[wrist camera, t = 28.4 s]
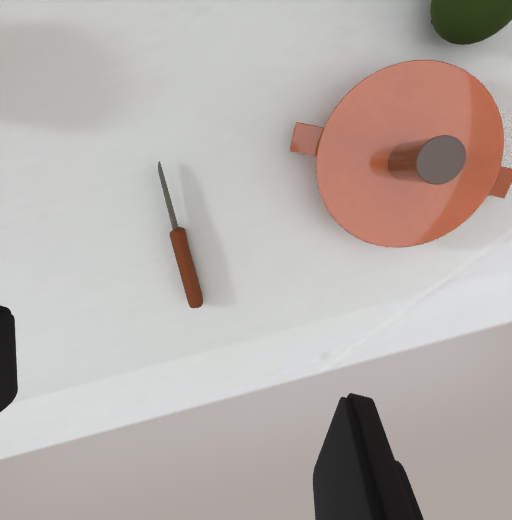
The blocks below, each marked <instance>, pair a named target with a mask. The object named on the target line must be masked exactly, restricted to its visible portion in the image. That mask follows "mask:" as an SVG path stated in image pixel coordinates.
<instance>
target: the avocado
mask: <svg viewBox="0 0 512 520" xmlns="http://www.w3.org/2000/svg"><path fill="white" fill-rule="evenodd" d="M431 17H432V20H431V23H433V25H434V27H435V30H436V31H437V33H438V34H439V35H440V36H441V37H442V38H443V39H445V40H447V41H448V42H451V43H454V44H461V45H464V44H472V43H475V42H479V41H482V40H484V39H486V38H488V37H490V36H492V35H493V34H495V33H497V32H498V31H499V30H500V29H502V28H503V27H504V26H506V25H507V24H508V23H509V22H510V21H511V20H512V0H432V2H431Z"/></svg>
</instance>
